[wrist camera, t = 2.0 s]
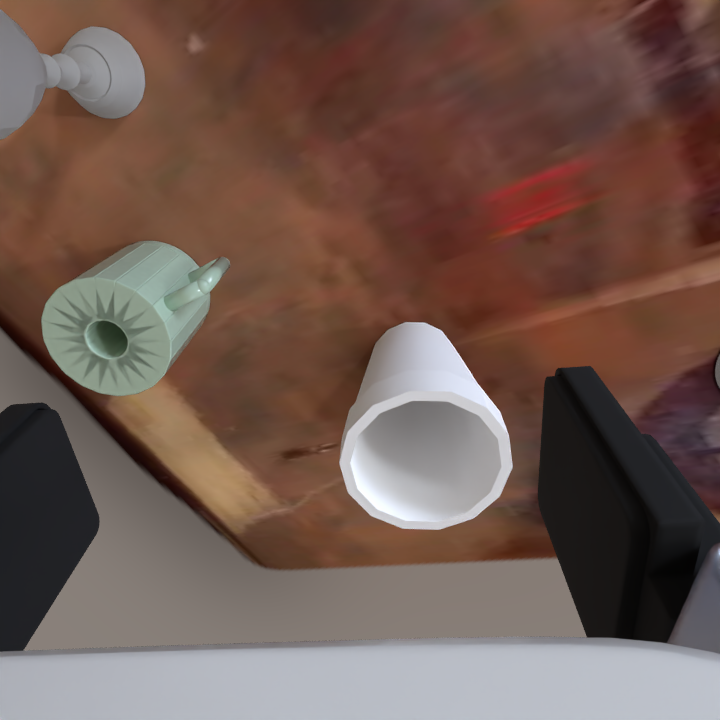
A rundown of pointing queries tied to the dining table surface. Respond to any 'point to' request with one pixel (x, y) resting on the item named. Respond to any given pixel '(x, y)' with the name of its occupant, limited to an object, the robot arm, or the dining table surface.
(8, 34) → the chalice
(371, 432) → the foam cup
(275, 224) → the dining table surface
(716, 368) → the wine glass
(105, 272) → the mug
